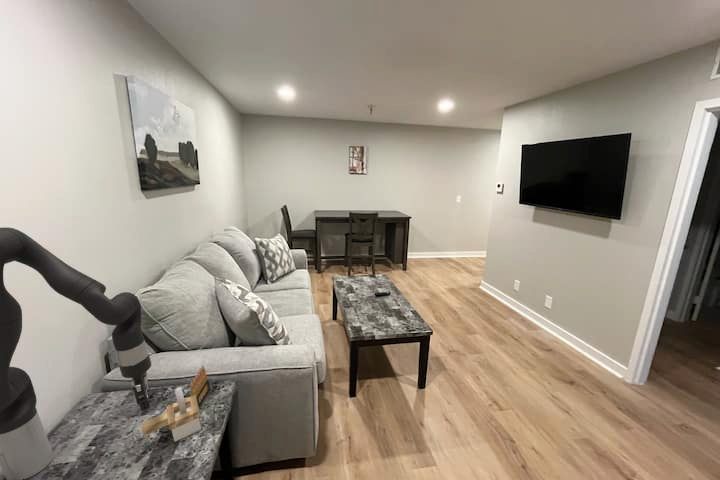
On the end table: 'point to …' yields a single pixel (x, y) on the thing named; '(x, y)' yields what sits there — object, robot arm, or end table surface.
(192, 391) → the ammunition clip
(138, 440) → the end table surface
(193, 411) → the oak link
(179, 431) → the ring stand
